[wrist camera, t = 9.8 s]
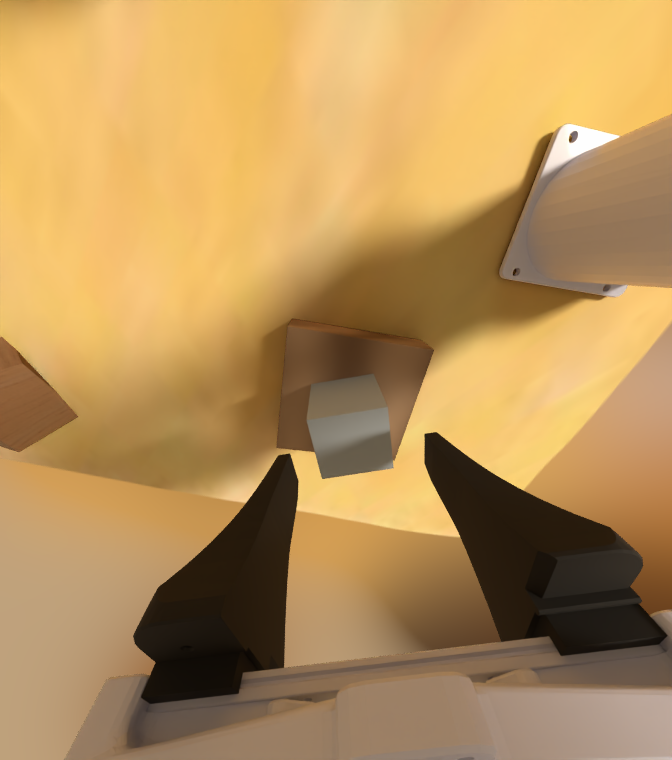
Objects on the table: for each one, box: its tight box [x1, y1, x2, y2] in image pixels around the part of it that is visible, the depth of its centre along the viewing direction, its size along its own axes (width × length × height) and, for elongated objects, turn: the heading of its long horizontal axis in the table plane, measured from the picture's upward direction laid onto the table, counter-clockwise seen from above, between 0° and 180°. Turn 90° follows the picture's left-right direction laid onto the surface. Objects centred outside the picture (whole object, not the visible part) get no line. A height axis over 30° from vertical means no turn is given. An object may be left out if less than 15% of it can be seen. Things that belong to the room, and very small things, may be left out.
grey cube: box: [307, 374, 393, 479], centre depth 16 cm, size 4×4×4 cm
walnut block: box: [277, 319, 434, 460], centre depth 20 cm, size 10×10×3 cm
